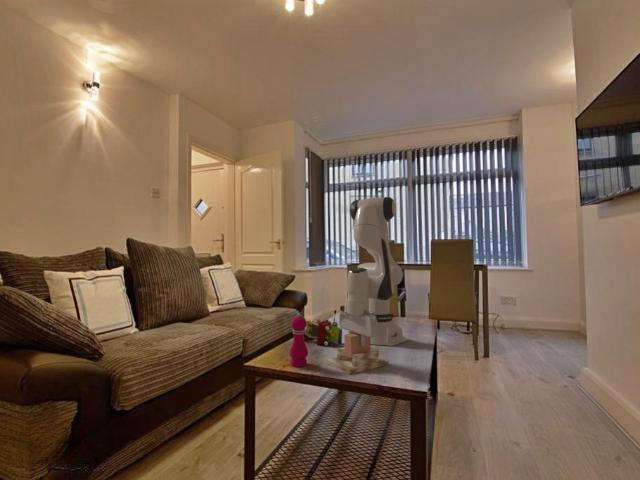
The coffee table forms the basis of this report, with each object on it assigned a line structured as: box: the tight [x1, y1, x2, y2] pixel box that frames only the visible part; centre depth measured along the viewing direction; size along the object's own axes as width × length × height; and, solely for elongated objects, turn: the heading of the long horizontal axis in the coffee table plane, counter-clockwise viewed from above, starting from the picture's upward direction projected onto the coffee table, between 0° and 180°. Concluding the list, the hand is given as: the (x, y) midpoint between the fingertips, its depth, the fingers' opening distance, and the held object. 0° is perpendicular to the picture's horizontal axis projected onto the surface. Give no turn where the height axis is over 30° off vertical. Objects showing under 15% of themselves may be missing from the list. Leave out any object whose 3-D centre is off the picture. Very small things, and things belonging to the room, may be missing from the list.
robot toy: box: [304, 309, 343, 347], centre depth 159 cm, size 17×9×20 cm
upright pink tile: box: [343, 333, 372, 358], centre depth 129 cm, size 10×4×8 cm, turn 123°
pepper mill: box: [289, 312, 309, 368], centre depth 128 cm, size 7×7×20 cm
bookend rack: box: [326, 346, 390, 375], centre depth 129 cm, size 20×14×6 cm
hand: (357, 344), depth 129 cm, fingers closed on upright pink tile, 4 cm apart
